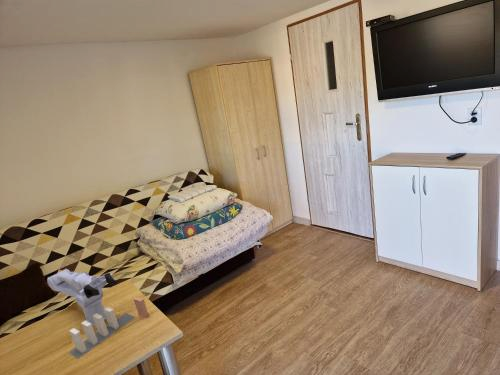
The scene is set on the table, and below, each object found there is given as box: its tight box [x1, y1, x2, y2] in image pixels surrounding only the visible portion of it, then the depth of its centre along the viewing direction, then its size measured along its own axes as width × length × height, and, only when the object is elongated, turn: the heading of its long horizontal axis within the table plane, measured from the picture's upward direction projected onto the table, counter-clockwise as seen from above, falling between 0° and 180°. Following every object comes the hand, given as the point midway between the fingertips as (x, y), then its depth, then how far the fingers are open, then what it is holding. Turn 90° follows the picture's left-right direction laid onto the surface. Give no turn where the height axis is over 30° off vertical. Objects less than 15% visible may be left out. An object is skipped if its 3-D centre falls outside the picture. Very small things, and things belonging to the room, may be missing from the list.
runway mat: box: [68, 312, 136, 360], centre depth 146 cm, size 8×27×1 cm, turn 143°
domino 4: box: [103, 306, 119, 329], centre depth 149 cm, size 5×2×9 cm, turn 53°
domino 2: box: [80, 320, 98, 345], centre depth 141 cm, size 5×2×9 cm, turn 53°
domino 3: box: [93, 313, 109, 337], centre depth 145 cm, size 5×2×9 cm, turn 53°
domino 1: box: [69, 327, 86, 353], centre depth 138 cm, size 5×2×9 cm, turn 53°
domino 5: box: [133, 296, 149, 319], centre depth 153 cm, size 5×2×9 cm, turn 53°
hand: (106, 287), depth 141 cm, fingers open, 7 cm apart
